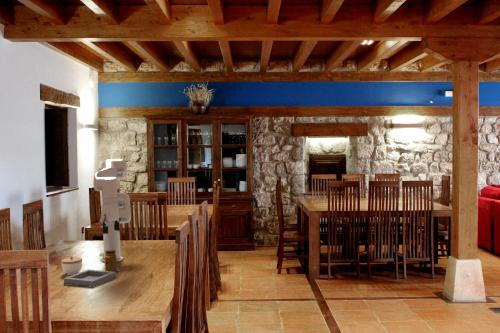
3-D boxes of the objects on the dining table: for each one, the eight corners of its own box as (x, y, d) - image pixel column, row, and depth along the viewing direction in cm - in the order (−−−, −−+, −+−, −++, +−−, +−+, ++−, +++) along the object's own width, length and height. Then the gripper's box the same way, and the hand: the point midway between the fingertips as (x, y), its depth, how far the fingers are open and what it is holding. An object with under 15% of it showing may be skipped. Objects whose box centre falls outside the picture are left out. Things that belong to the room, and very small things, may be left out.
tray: (63, 284, 238) (63, 278, 238) (88, 274, 255) (88, 269, 255) (92, 287, 231) (92, 281, 231) (116, 277, 248) (115, 271, 248)
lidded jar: (86, 271, 262) (86, 254, 262) (73, 276, 252) (72, 259, 252) (70, 270, 266) (70, 253, 265) (57, 275, 256) (56, 258, 255)
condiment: (102, 272, 259) (101, 251, 259) (115, 269, 265) (114, 248, 265) (109, 274, 254) (109, 252, 254) (123, 271, 261) (122, 249, 260)
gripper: (114, 199, 268) (115, 229, 268) (94, 202, 252) (95, 234, 252) (125, 199, 265) (126, 229, 266) (105, 202, 249) (106, 235, 249)
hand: (111, 232), depth 259 cm, fingers open, 9 cm apart
